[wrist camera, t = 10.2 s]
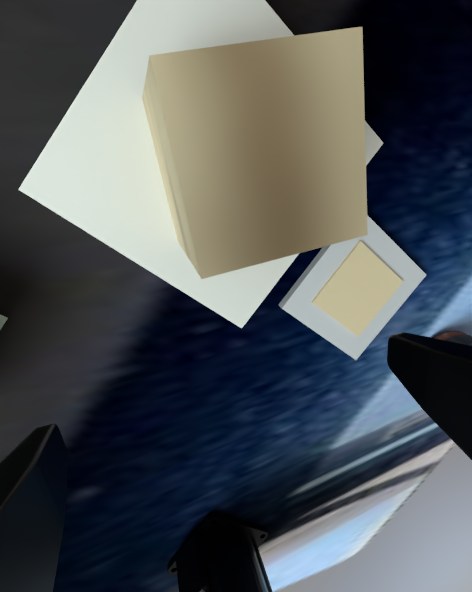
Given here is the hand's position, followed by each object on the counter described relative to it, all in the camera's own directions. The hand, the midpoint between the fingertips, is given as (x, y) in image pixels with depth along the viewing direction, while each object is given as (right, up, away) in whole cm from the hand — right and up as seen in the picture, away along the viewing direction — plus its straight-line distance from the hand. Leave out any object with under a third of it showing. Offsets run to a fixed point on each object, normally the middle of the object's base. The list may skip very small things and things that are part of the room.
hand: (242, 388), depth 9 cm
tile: (+8, +3, +15) cm, 18 cm away
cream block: (-2, +10, +10) cm, 14 cm away
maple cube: (-1, +8, +7) cm, 11 cm away
